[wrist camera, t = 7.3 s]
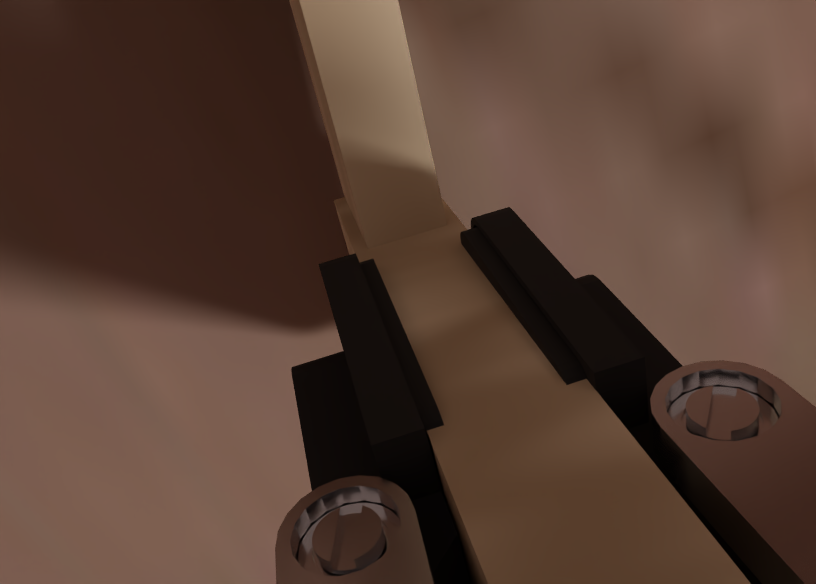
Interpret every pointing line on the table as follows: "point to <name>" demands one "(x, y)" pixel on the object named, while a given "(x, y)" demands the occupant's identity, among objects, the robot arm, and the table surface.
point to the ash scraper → (487, 350)
